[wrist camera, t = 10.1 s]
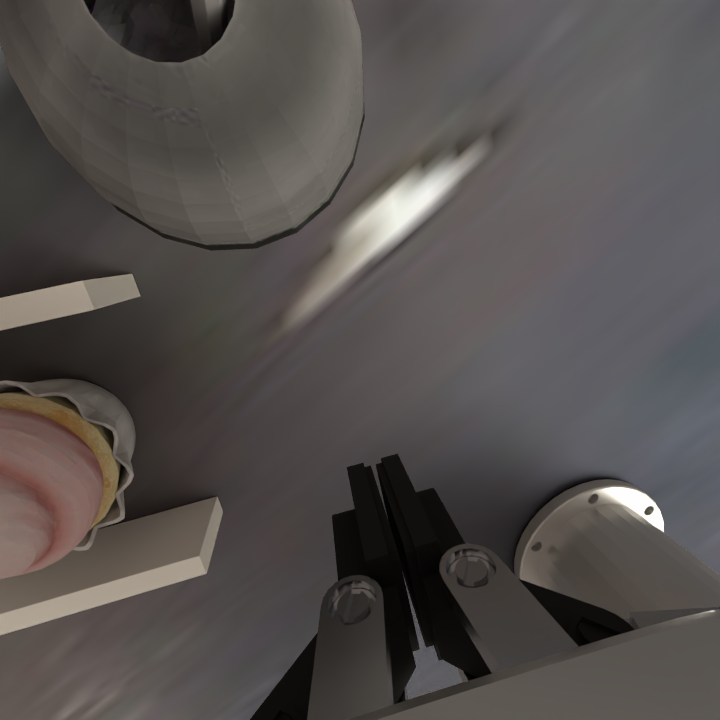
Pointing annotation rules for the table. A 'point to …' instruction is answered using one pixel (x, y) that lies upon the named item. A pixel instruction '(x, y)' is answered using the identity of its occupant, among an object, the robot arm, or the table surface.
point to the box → (114, 543)
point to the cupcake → (59, 469)
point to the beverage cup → (196, 107)
